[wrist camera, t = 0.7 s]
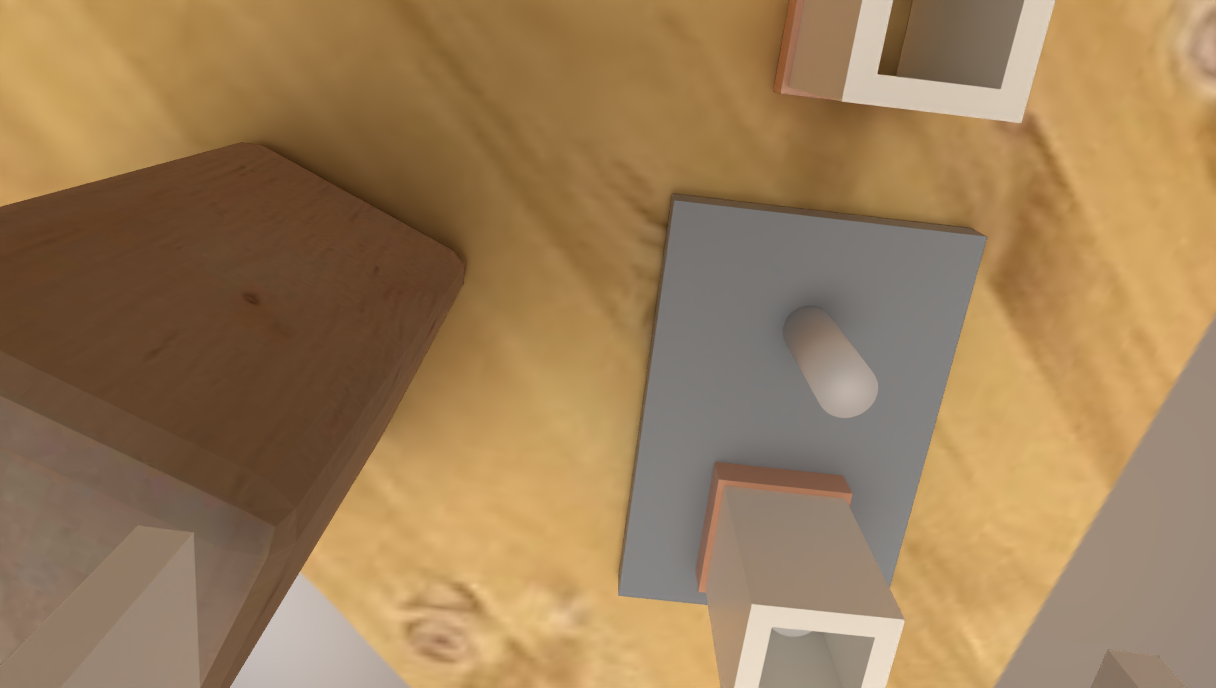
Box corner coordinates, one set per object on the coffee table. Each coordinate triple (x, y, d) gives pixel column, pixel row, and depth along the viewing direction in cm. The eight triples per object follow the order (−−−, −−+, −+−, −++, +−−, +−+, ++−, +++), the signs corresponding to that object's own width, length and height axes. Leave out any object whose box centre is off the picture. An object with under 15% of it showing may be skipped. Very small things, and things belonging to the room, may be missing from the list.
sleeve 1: (714, 461, 35) (745, 596, 26) (843, 475, 35) (914, 614, 26) (695, 570, 37) (717, 729, 28) (817, 583, 37) (875, 744, 28)
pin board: (672, 193, 32) (686, 235, 25) (971, 228, 33) (1068, 279, 26) (618, 575, 39) (618, 694, 32) (870, 601, 39) (925, 725, 32)
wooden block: (479, 256, 33) (297, 532, 15) (376, 446, 36) (117, 876, 18) (248, 128, 32) (-289, 255, 13) (161, 339, 35) (-376, 687, 16)
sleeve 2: (801, -71, 29) (875, -117, 21) (954, -51, 29) (1090, -89, 21) (773, 91, 31) (830, 109, 23) (917, 108, 31) (1027, 133, 23)
